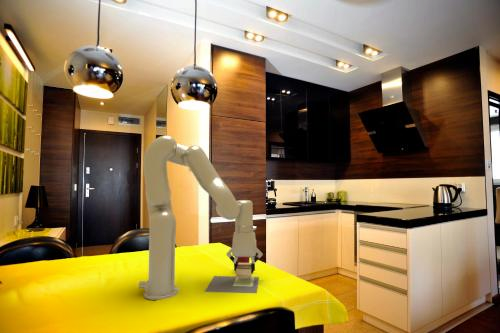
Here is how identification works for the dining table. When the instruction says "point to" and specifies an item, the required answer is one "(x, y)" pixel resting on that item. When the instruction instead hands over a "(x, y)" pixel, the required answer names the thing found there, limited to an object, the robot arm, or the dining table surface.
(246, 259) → the paper cup
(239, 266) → the card box
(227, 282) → the mat
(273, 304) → the dining table surface
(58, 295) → the dining table surface
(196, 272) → the dining table surface
